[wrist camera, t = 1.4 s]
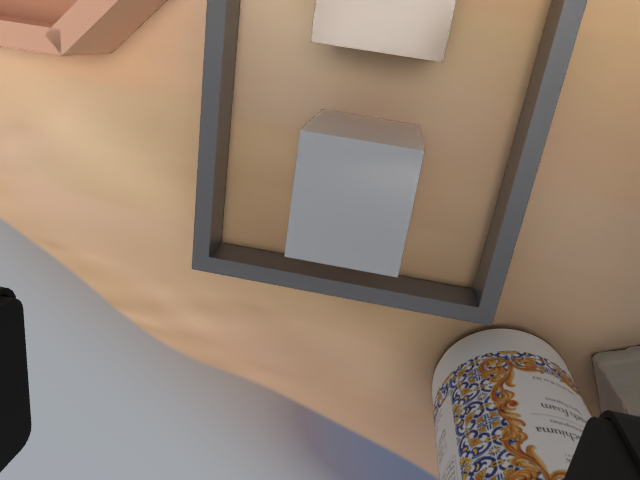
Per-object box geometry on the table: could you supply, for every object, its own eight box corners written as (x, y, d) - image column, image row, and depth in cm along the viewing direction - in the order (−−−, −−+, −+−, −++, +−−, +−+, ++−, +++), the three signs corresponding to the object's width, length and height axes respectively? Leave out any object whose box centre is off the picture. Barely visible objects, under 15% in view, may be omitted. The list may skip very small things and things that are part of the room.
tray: (617, -157, 20) (639, -177, 18) (485, 306, 27) (491, 326, 25) (236, -202, 21) (220, -225, 19) (205, 253, 28) (191, 268, 27)
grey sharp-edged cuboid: (419, 125, 25) (424, 150, 19) (398, 226, 27) (397, 277, 21) (322, 109, 25) (299, 130, 19) (308, 210, 27) (284, 256, 21)
